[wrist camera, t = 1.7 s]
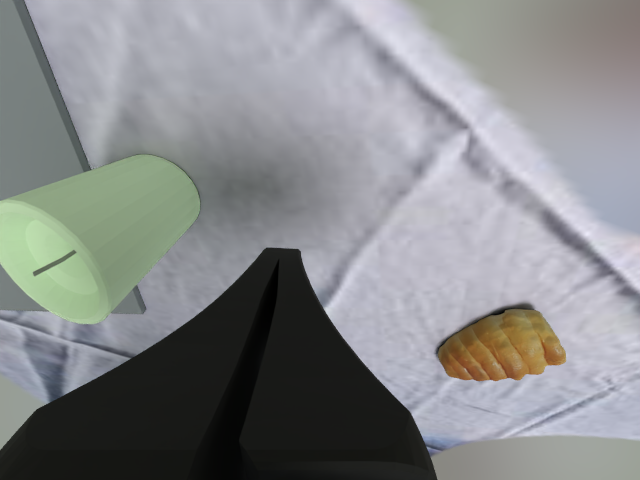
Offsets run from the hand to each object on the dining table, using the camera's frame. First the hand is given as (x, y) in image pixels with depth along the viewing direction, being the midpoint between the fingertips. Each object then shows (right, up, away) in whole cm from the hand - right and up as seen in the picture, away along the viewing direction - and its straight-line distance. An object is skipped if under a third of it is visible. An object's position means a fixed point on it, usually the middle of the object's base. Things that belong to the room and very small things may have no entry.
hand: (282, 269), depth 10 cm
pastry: (+18, -8, +14) cm, 24 cm away
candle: (-8, +4, +6) cm, 11 cm away
